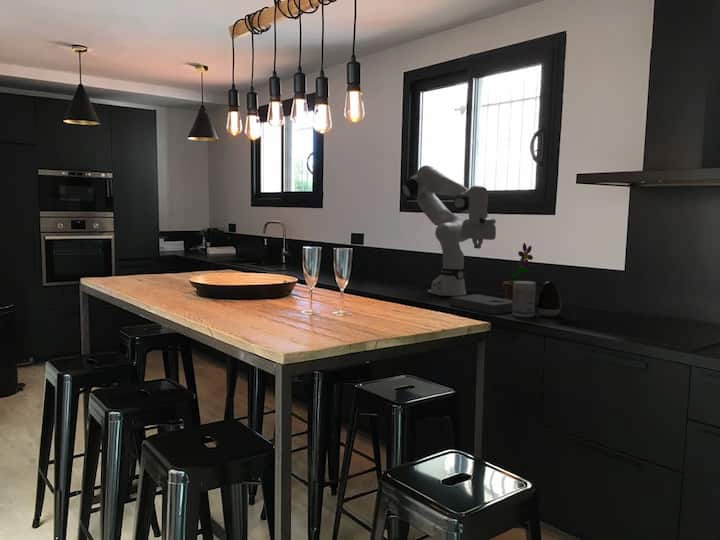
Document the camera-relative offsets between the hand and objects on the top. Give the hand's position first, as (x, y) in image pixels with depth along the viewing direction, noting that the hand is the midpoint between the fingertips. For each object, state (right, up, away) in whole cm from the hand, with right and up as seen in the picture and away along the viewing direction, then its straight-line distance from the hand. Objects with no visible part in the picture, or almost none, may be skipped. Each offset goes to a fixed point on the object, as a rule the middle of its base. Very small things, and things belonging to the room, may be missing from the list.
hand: (477, 248), depth 284 cm
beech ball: (+6, -27, -15) cm, 32 cm away
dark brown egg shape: (+25, -31, -28) cm, 49 cm away
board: (+2, -28, -9) cm, 30 cm away
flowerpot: (+21, -27, +5) cm, 34 cm away
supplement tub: (+14, -31, -28) cm, 44 cm away
